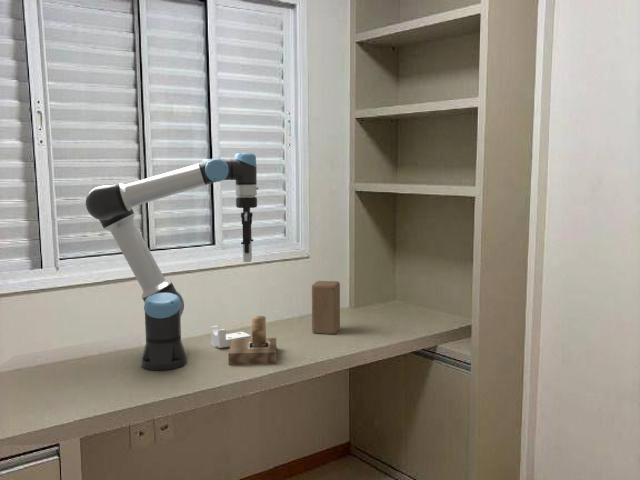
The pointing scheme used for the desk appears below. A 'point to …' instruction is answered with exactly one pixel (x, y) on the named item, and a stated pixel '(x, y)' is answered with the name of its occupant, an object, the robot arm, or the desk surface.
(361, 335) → the desk surface
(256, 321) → the oak peg
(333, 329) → the wooden block
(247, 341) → the seat board
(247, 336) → the bracket
